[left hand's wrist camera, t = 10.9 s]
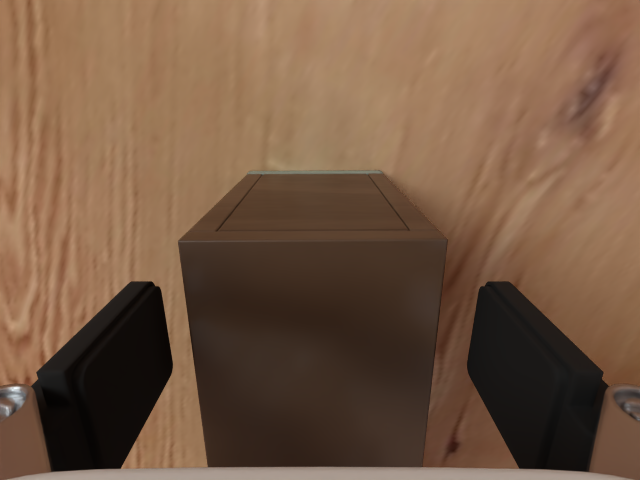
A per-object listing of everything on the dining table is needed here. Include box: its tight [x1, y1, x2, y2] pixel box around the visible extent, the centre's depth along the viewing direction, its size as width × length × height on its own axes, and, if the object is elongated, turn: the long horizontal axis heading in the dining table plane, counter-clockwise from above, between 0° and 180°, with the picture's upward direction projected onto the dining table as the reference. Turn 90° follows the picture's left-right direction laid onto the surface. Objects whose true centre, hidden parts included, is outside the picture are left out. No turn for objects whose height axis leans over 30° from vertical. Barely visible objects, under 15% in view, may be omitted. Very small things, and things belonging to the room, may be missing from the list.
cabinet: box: [178, 171, 448, 467], centre depth 17 cm, size 17×7×11 cm, turn 0°
